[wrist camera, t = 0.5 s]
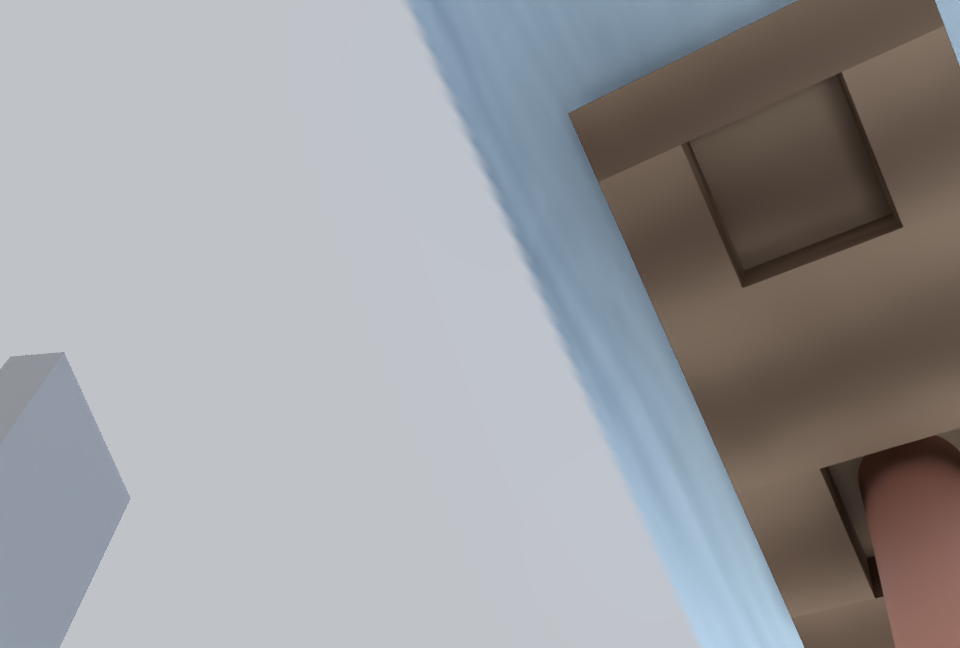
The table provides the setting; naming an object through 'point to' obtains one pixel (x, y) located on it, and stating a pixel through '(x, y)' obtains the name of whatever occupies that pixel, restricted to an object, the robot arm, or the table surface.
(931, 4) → the hole board
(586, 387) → the table surface
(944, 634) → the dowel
